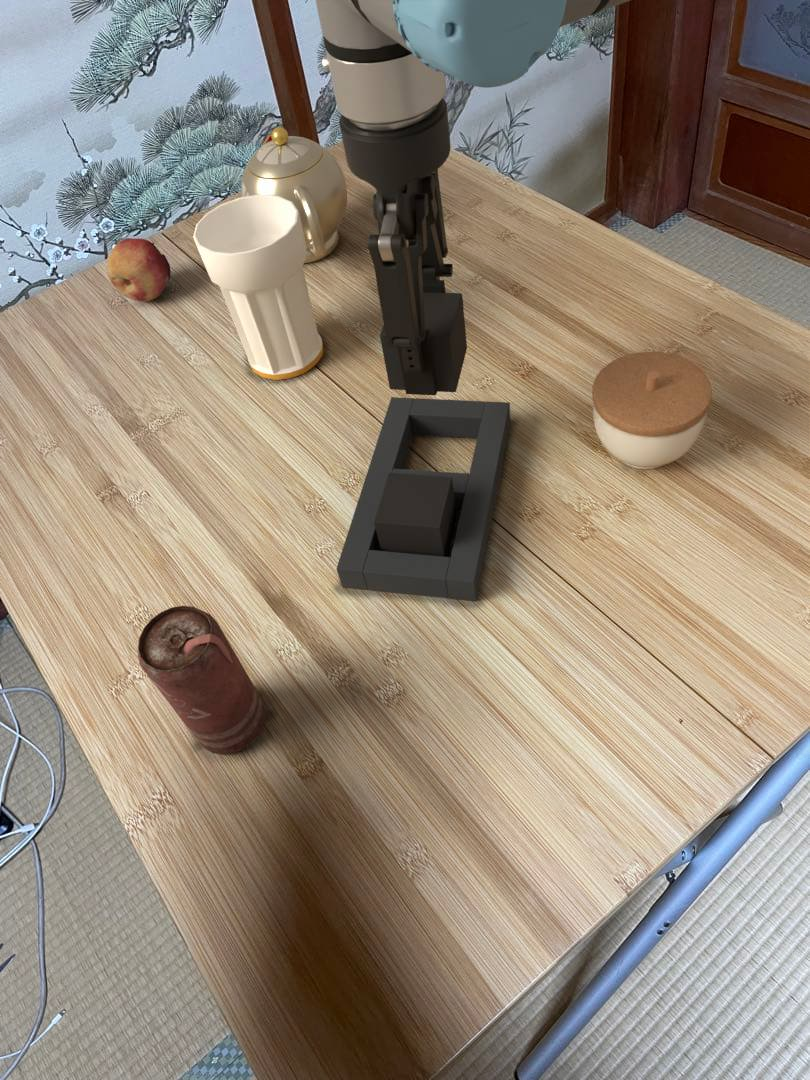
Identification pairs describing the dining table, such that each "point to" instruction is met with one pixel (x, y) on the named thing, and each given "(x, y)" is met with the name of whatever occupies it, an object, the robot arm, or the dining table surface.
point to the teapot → (301, 186)
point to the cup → (263, 281)
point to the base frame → (471, 491)
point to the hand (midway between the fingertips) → (428, 366)
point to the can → (202, 679)
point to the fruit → (138, 269)
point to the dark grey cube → (417, 515)
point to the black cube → (436, 342)
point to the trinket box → (650, 407)
